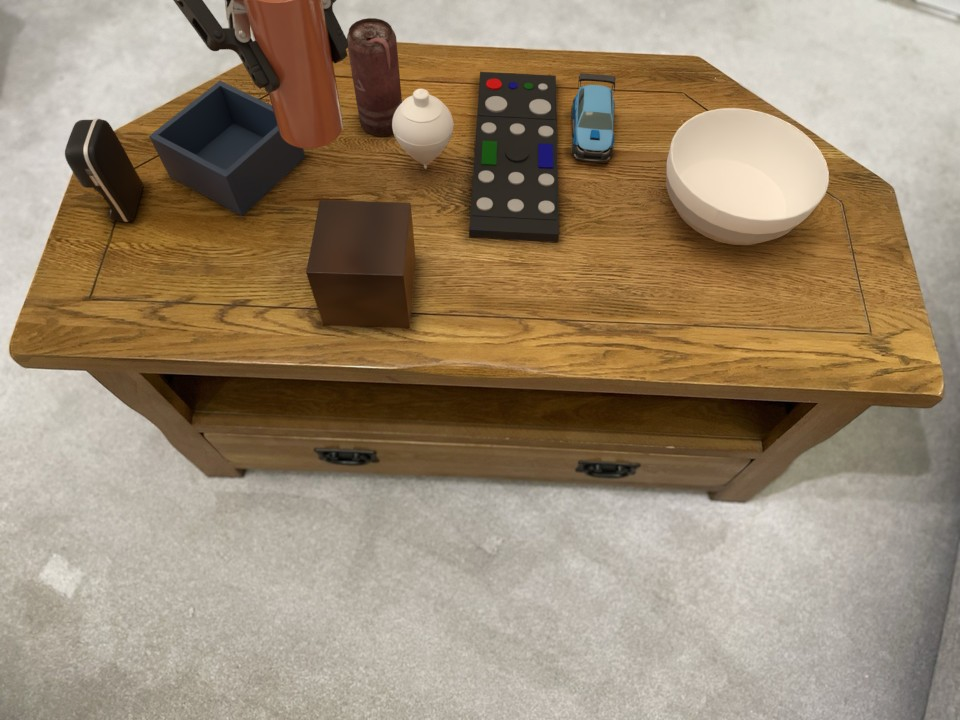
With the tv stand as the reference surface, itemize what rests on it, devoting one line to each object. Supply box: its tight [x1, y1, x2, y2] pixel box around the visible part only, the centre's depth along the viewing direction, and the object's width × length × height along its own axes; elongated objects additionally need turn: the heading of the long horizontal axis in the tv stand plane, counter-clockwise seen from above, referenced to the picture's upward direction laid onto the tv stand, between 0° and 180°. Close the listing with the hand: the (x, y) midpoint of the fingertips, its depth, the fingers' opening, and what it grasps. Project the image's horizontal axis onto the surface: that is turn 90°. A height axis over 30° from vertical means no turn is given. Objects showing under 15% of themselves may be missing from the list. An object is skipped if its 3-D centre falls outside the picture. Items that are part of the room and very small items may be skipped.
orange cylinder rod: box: [243, 0, 344, 150], centre depth 57 cm, size 6×6×14 cm
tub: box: [148, 80, 306, 217], centre depth 86 cm, size 13×13×7 cm
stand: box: [305, 199, 417, 329], centre depth 75 cm, size 10×10×10 cm
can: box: [346, 17, 403, 137], centre depth 87 cm, size 6×6×14 cm
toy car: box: [570, 73, 617, 164], centre depth 91 cm, size 6×12×6 cm, turn 175°
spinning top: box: [392, 88, 454, 170], centre depth 84 cm, size 8×8×12 cm
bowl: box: [665, 107, 830, 246], centre depth 83 cm, size 19×19×9 cm
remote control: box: [468, 71, 560, 243], centre depth 90 cm, size 11×30×2 cm, turn 177°
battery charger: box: [64, 118, 144, 223], centre depth 80 cm, size 7×4×11 cm, turn 3°
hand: (308, 73), depth 56 cm, fingers closed on orange cylinder rod, 6 cm apart
